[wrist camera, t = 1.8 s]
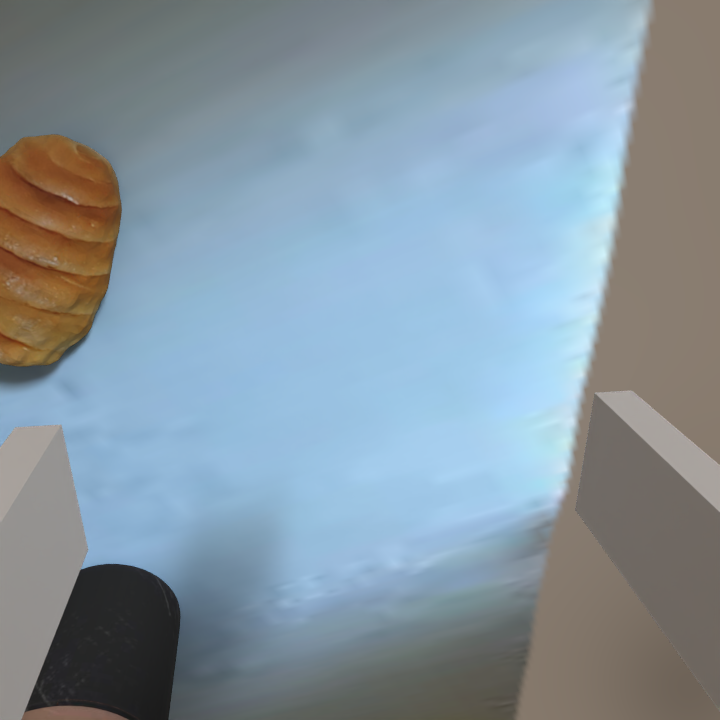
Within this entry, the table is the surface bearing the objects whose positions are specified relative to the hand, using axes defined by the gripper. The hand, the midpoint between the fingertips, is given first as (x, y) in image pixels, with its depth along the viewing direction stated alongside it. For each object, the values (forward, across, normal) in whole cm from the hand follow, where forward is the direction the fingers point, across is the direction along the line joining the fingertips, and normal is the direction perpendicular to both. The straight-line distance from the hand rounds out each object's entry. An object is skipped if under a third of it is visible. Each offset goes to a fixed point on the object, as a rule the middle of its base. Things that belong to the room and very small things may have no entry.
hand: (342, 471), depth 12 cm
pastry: (+18, +12, 0) cm, 21 cm away
